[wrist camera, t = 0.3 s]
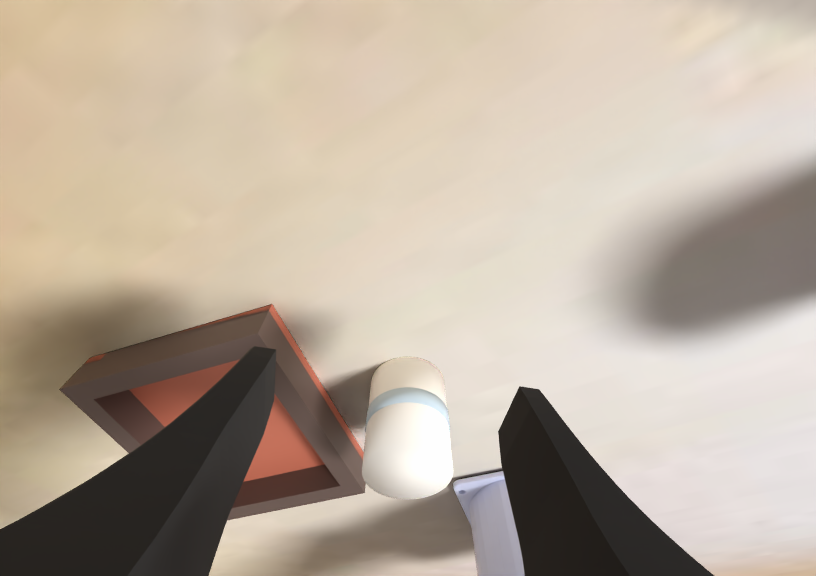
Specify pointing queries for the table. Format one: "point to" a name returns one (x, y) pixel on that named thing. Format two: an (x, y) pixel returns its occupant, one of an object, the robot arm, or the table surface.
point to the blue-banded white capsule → (407, 430)
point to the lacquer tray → (198, 372)
